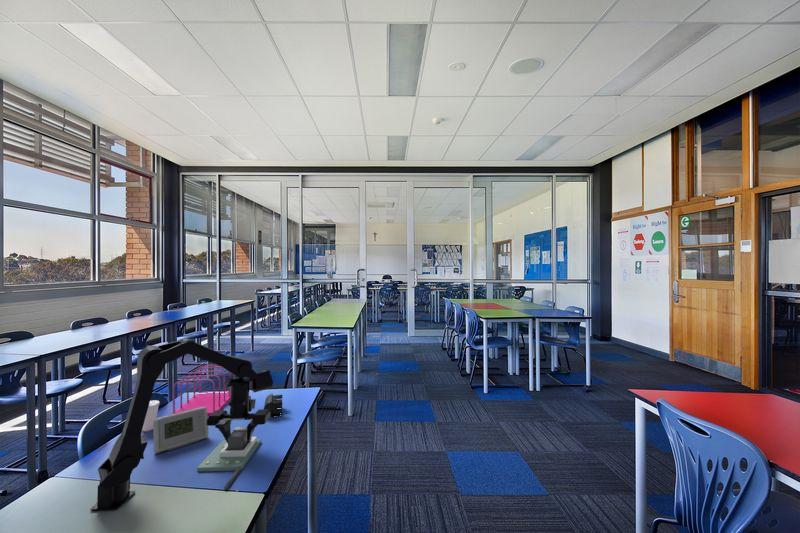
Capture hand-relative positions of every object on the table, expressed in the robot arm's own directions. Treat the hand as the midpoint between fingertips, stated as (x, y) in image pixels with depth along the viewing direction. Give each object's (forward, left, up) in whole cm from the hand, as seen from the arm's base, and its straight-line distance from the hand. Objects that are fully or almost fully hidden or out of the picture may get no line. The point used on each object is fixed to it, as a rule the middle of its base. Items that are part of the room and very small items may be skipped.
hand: (238, 442), depth 107 cm
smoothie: (+18, +41, -3) cm, 45 cm away
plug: (0, 0, -2) cm, 2 cm away
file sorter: (+40, +31, -4) cm, 51 cm away
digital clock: (+7, +22, -4) cm, 24 cm away
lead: (-13, -5, -3) cm, 14 cm away
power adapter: (+30, -2, -4) cm, 30 cm away
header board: (-2, +1, -3) cm, 4 cm away
